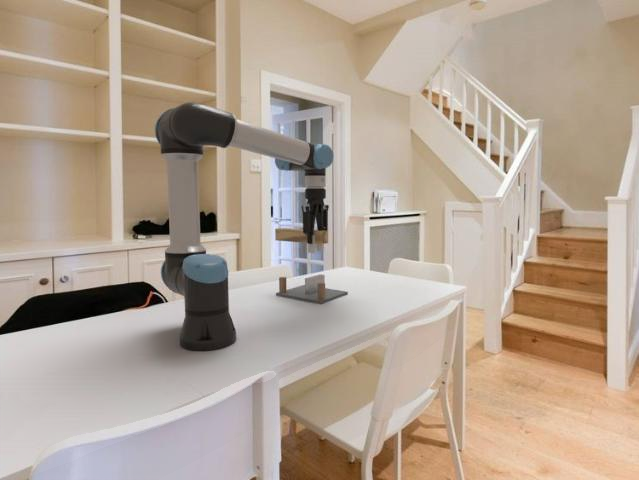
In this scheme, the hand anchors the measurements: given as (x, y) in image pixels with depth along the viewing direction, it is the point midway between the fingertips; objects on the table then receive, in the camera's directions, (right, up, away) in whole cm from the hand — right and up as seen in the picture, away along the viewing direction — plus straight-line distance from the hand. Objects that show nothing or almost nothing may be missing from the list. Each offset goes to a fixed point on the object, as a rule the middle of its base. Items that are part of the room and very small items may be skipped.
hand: (315, 251), depth 155 cm
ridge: (0, -17, +13) cm, 22 cm away
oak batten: (-6, +4, +4) cm, 8 cm away
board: (-2, -17, +11) cm, 21 cm away
